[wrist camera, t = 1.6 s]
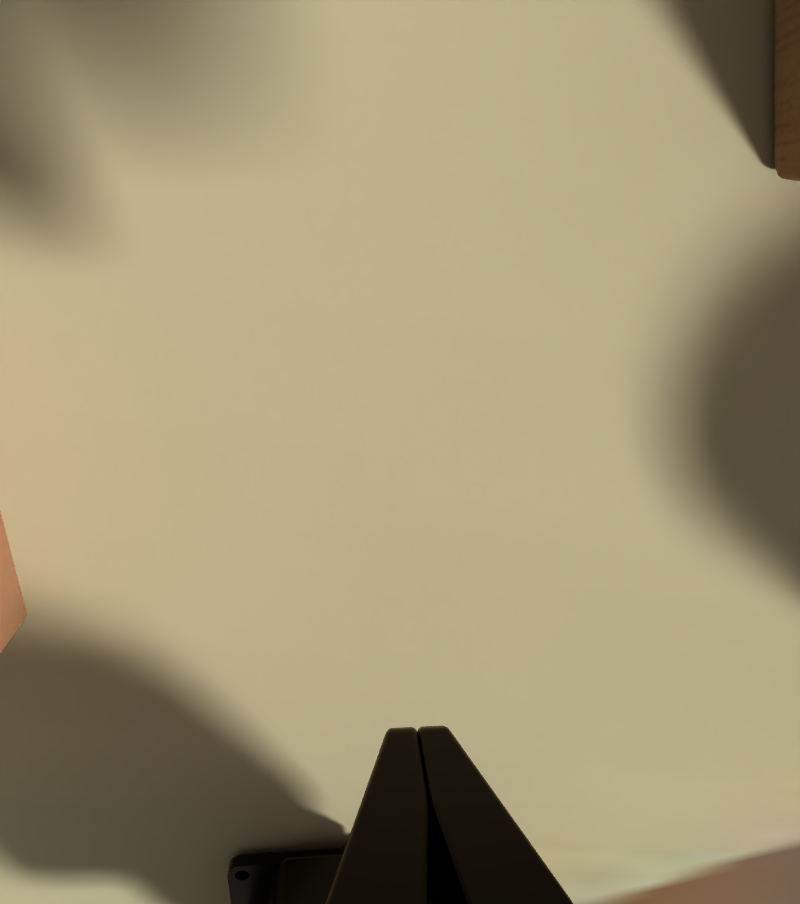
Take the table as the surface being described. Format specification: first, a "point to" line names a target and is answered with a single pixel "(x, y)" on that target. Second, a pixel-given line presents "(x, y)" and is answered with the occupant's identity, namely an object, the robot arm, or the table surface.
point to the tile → (9, 592)
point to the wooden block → (787, 89)
